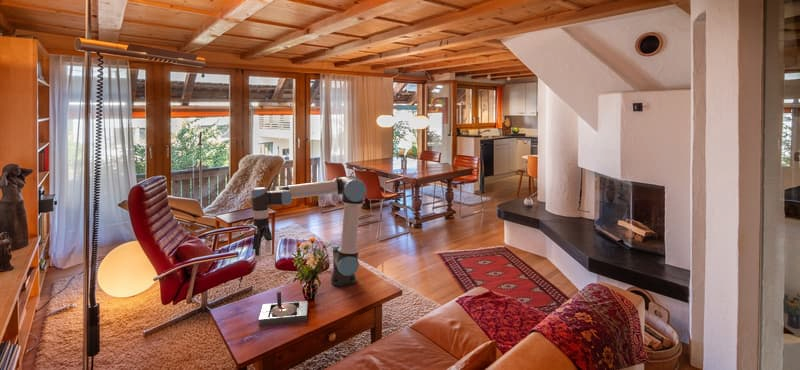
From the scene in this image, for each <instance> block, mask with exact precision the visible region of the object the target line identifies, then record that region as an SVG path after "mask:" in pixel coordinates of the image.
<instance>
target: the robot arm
mask: <svg viewBox="0 0 800 370" xmlns="http://www.w3.org/2000/svg"><path fill="white" fill-rule="evenodd" d="M333 194H335V196H337V195H342V198H341V202H342V204H344V207H343V217H342V218H343V220H342V229H341V230H342V231H341V242H340V243H338V244H334V245H333V246H332V265H333V266H332V268H333V270H332V273H331V277H330V284H331V283H332V284H333V285H332V284H331V285H332V286H334V285H336V286H335V287H341V286H343V287H349V285H350V286H352V284H353V285H354V284H356V283H357V276H356V273H357V272H358V271H359V268H360V262H359V252H360V251H359V249H358V248H357V242H358V230H359V222H360V221H359V220H360V211H361V206H362V205H363V204H364V198H365V196H366V194H367V187H366V184H365V183H364V181H363V180H362V179H359V178H358V177H357V176H354V175H349V176H342V177H334V178H333V180H323V181H317V182H315V181H314V182H306V183H299V184H293V185H292V184H291V185H290V184H289V185H283V186H282V185H277V186H275V187H273V189H272V190H268V189H267V187H255V188H252V189H251V203H252V211H251V213H252V216H253V226H255V227H256V229H253V230H254V231H253V239H252V250H254V256H255V257H254V259H255V262H262V251H261V245H262V239H263V237H264V246H265V253H267V254H269V253H272V245H271V241H273V236H272V232H271V229H270V224H269V223H270V219H269V214H270V213H269V206H270V207H272V206H285V205H291V204H292V199H301V198H310V197H317V196H325V195H333Z"/></svg>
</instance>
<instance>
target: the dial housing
mask: <svg viewBox="0 0 800 370" xmlns="http://www.w3.org/2000/svg"><path fill="white" fill-rule="evenodd" d="M282 304H293V305H295V306H296V307H297V312H296V314H295V315H293V316H281V317H273V316H272V312H271V311H272V309H273V308H274V307H275V306H277V302H276V303H275V302H274V303H265V304H262V308H261V311H260V313H259V316H258V327H265V326H275V325H286V324H297V323H299V324H300V323H307V321H308V307H309V306H308V305H309V303H308V300H302V301H301V300H300V301H299V300H298V301H287V302H282Z"/></svg>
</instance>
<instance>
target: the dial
mask: <svg viewBox="0 0 800 370" xmlns="http://www.w3.org/2000/svg"><path fill="white" fill-rule="evenodd" d="M276 301H277V302H276V303H277V306H275V307H274V308H273V309H272V311H271V312H272V316H273V317H281V316H293V315H295V314H296V312H297V307H296V306H295V305H293V304H282V303H283V302H282V291H277V292H276Z"/></svg>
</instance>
